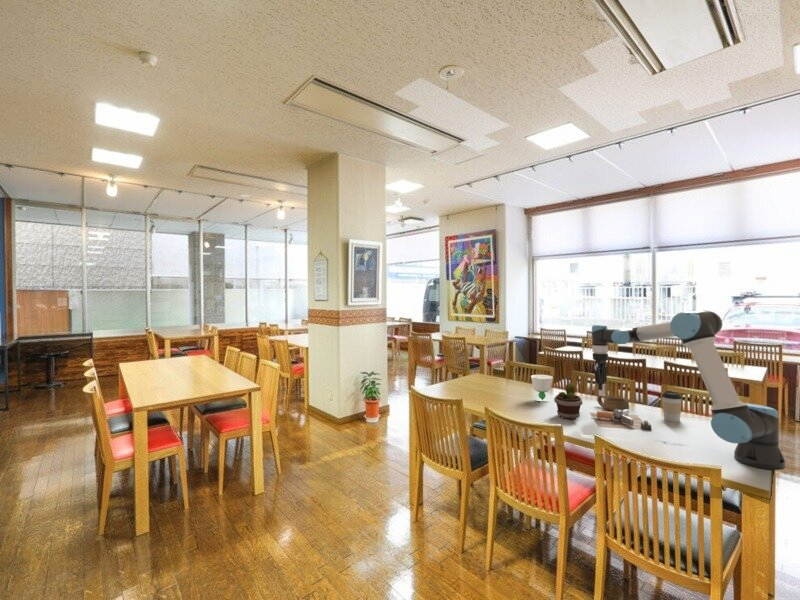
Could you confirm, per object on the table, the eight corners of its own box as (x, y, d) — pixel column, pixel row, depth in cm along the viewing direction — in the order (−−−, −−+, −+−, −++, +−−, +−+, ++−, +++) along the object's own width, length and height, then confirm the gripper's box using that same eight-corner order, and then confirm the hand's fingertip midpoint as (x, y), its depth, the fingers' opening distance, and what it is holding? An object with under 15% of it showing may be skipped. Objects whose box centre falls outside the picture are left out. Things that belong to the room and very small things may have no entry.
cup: (526, 398, 254) (526, 375, 254) (543, 396, 258) (543, 373, 258) (540, 404, 241) (539, 379, 241) (557, 402, 245) (557, 377, 245)
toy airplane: (652, 433, 188) (651, 421, 188) (596, 429, 195) (596, 418, 195) (637, 418, 211) (636, 407, 211) (587, 415, 218) (587, 405, 218)
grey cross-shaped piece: (628, 416, 209) (628, 406, 209) (633, 427, 192) (633, 416, 192) (595, 413, 215) (595, 404, 215) (598, 423, 198) (598, 413, 198)
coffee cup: (685, 422, 201) (685, 394, 201) (666, 422, 203) (666, 394, 203) (677, 417, 210) (676, 390, 210) (658, 416, 212) (658, 390, 212)
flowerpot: (575, 423, 205) (575, 386, 205) (549, 416, 217) (548, 381, 216) (587, 417, 214) (587, 382, 214) (561, 411, 226) (561, 377, 226)
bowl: (590, 408, 225) (592, 391, 227) (600, 410, 234) (601, 394, 236) (623, 414, 212) (624, 396, 214) (632, 416, 220) (633, 399, 222)
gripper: (598, 351, 216) (600, 392, 216) (587, 353, 208) (589, 396, 208) (612, 352, 210) (614, 394, 210) (601, 354, 202) (603, 398, 202)
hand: (601, 395), depth 209 cm, fingers closed
